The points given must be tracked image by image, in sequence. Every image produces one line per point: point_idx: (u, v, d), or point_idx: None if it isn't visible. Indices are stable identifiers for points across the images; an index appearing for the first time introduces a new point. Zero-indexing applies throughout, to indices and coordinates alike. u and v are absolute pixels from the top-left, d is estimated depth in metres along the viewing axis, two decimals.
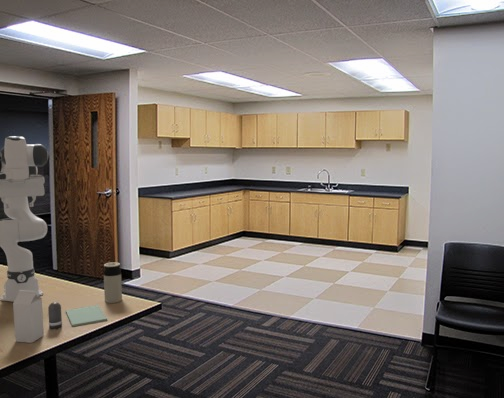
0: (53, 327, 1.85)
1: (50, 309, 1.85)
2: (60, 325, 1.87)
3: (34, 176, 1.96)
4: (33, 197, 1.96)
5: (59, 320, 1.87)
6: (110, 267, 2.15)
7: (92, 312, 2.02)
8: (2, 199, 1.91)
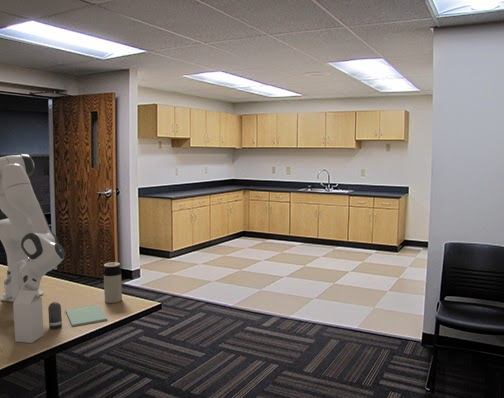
0: (53, 327, 1.85)
1: (50, 309, 1.85)
2: (60, 325, 1.87)
3: None
4: None
5: (59, 320, 1.87)
6: (110, 267, 2.15)
7: (92, 312, 2.02)
8: None
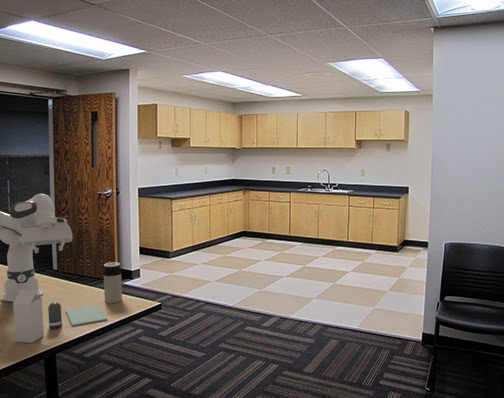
0: (53, 327, 1.85)
1: (50, 309, 1.85)
2: (60, 325, 1.87)
3: None
4: None
5: (59, 320, 1.87)
6: (110, 267, 2.15)
7: (92, 312, 2.02)
8: None
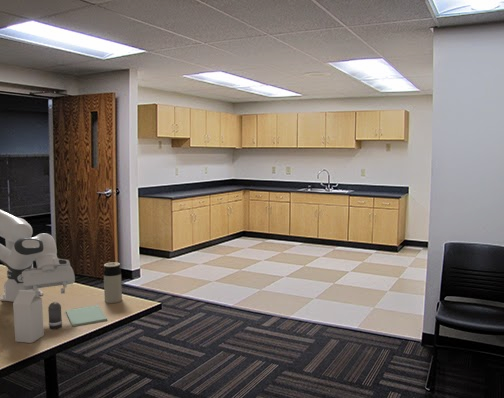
0: (53, 327, 1.85)
1: (50, 309, 1.85)
2: (60, 325, 1.87)
3: None
4: None
5: (59, 320, 1.87)
6: (110, 267, 2.15)
7: (92, 312, 2.02)
8: None
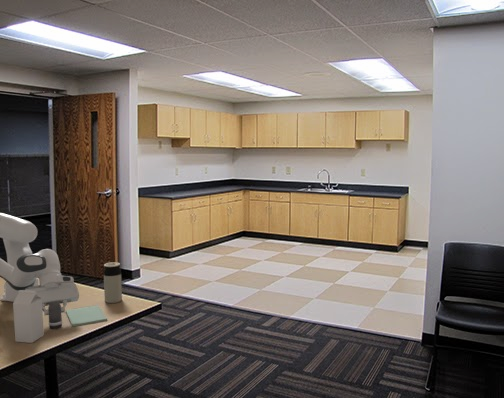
0: (53, 327, 1.85)
1: (50, 309, 1.85)
2: (60, 325, 1.87)
3: None
4: None
5: (59, 320, 1.87)
6: (110, 267, 2.15)
7: (92, 312, 2.02)
8: None
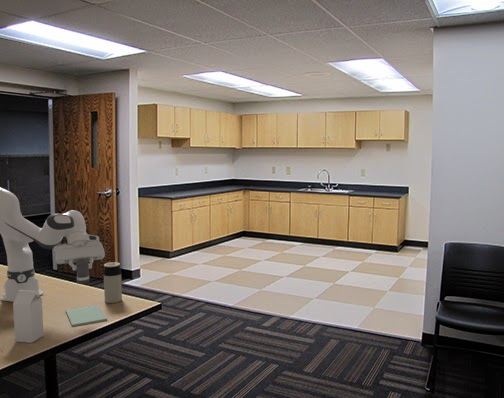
0: (81, 281, 1.95)
1: (78, 264, 1.95)
2: (87, 280, 1.97)
3: None
4: None
5: (86, 275, 1.96)
6: (110, 267, 2.15)
7: (92, 312, 2.02)
8: None
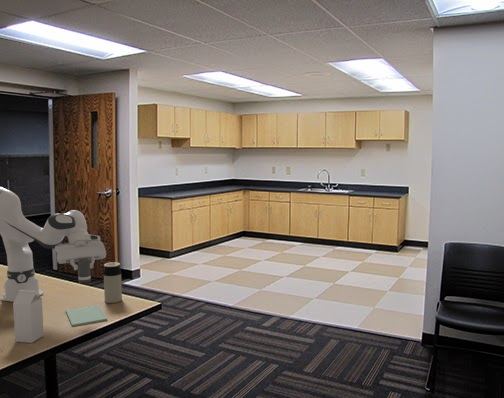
0: (82, 281, 1.96)
1: (80, 264, 1.95)
2: (89, 280, 1.97)
3: None
4: None
5: (88, 275, 1.97)
6: (110, 267, 2.15)
7: (92, 312, 2.02)
8: None
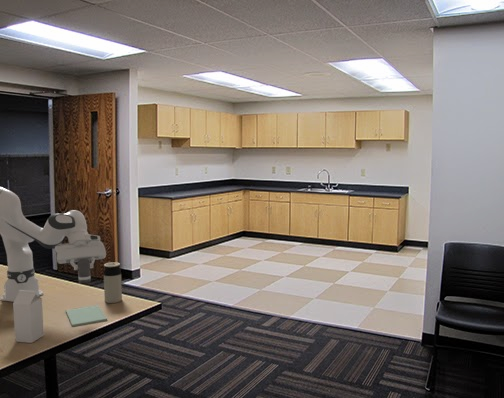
0: (82, 281, 1.96)
1: (80, 264, 1.95)
2: (89, 280, 1.97)
3: None
4: None
5: (88, 275, 1.97)
6: (110, 267, 2.15)
7: (92, 312, 2.02)
8: None
